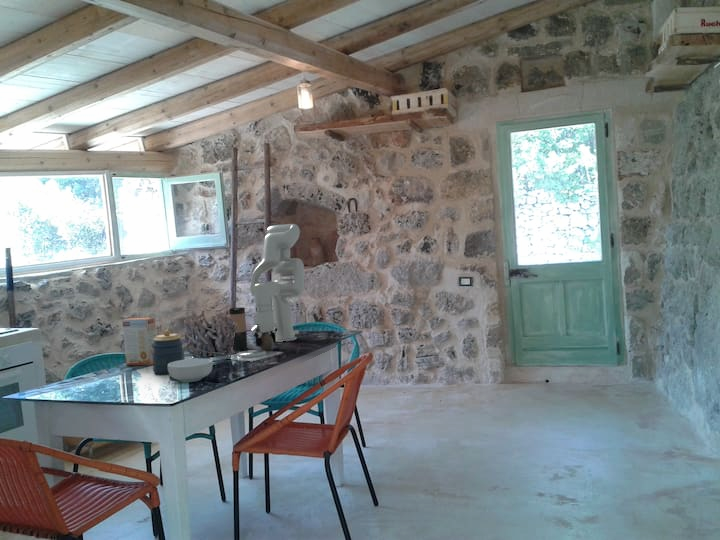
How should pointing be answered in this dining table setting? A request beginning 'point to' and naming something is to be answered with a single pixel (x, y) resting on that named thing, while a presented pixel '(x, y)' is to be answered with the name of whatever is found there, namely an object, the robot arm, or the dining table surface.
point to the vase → (266, 341)
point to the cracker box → (139, 340)
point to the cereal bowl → (190, 369)
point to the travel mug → (239, 328)
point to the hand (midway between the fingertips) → (266, 344)
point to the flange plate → (253, 355)
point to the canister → (166, 351)
